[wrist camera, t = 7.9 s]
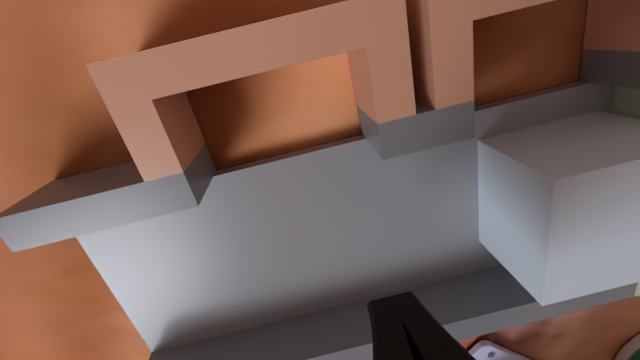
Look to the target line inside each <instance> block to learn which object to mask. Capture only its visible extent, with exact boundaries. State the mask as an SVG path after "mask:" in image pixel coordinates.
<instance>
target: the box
mask: <svg viewBox="0 0 640 360" xmlns="http://www.w3.org/2000/svg"><path fill="white" fill-rule="evenodd" d="M550 1H554V0H346V1H342V2H338V3H334V4H330V5H326V6H322V7H318V8H314V9H310V10H306V11H302V12H298V13H294V14H290V15H285V16H281V17H277V18H273V19H269V20H265V21H261V22H257V23H253V24H249V25H245V26H241V27H237V28H233V29H229V30H224V31H220V32H216V33H212V34H208V35H204V36H200V37H196V38H192V39H188V40H184V41H180V42H176V43H172V44H168V45H164V46H159V47H155V48H151V49H147V50H143V51H139V52H135V53H131V54H127V55H123V56H119V57H115V58H111V59H107V60H103V61H98V62H94V63H90V64H86V67H87V69H88V71H89V73H90V75H91V77H92V79H93V81H94V83H95V85H96V87H97V89H98V91H99V93H100V95H101V97H102V99H103V101H104V103H105V105H106V107H107V109H108V111H109V113H110V115H111V117H112V119H113V121H114V123H115V125H116V127H117V129H118V131H119V132H120V134H121V136H122V138H123V140H124V142H125V144H126V146H127V148H128V150H129V152H130V154H131V156H132V158H133V161H129V162H125V163H121V164H117V165H113V166H109V167H105V168H101V169H97V170H93V171H89V172H85V173H81V174H77V175H73V176H69V177H65V178H61V179H57V180H53V181H51V182H50V183H48V184H47V185H45V186H43V187H42V188H40V189H39V190H37V191H35V192H34V193H32V194H30V195H29V196H27V197H26V198H24V199H22V200H21V201H19V202H18V203H16V204H14V205H13V206H11V207H9V208H8V209H6V210H5V211H3V212H1V213H0V237H1V238H2V239H3V240H4V242H5V243H6V244H7V246H8V247H9V248H10V249H11V251H12V252H17V251H21V250H25V249H29V248H33V247H37V246H41V245H45V244H49V243H53V242H57V241H61V240H65V239H69V238H73V237H76V238H77V240H78V241H79V243H80V244H81V246H82V247H83V249H84V250H85V252H86V253H87V255H88V256H89V258H90V259H91V261H92V262H93V264H94V265H95V267H96V268H97V270H98V271H99V273H100V275H101V276H102V278H103V279H104V281H105V282H106V284H107V285H108V287H109V288H110V290H111V291H112V293H113V294H114V296H115V297H116V299H117V300H118V302H119V303H120V305H121V306H122V308H123V309H124V311H125V313H126V314H127V316H128V317H129V319H130V320H131V322H132V323H133V325H134V326H135V328H136V329H137V331H138V332H139V334H140V335H141V337H142V338H143V340H144V341H145V343H146V344H147V346H148V347H149V349H150V350H151V352H152V353H151V356H150V358H149V360H373V342H372V329H371V322H370V317H369V313H368V308H367V304H368V303H369V302H370V301H372V300H376V299H380V298H384V297H388V296H392V295H396V294H400V293H404V292H408V291H410V292H412V293H414V294H415V296H416V297H417V298H418V299H419V301H420V302H421V303H422V304H423V305H424V306H425V308H426V309H427V310H428V311H429V312H430V313H431V314H432V316H433V317H434V318H435V319H436V320H437V321H438V322H439V323H440V324H441V325H442V326H443V327H444V328H445V330H446V331H447V332H448V333H449V334H450V335H451V336H452V337H453V338H454V339H455V340H456V341H461V340H465V339H468V338H472V337H476V336H480V335H484V334H488V333H492V332H496V331H500V330H504V329H508V328H512V327H516V326H520V325H524V324H528V323H532V322H536V321H540V320H544V319H548V318H552V317H556V316H560V315H564V314H568V313H572V312H576V311H580V310H584V309H588V308H592V307H596V306H600V305H604V304H608V303H612V302H616V301H620V300H624V299H628V298H632V297H636V296H640V282H636V283H632V284H628V285H625V286H621V287H617V288H613V289H609V290H605V291H601V292H597V293H593V294H589V295H585V296H581V297H577V298H573V299H569V300H565V301H561V302H557V303H553V304H549V305H545V306H541V304H540V303H539V302H538V301H537V300H536V299H535V298H534V297H533V296H532V295H531V294H530V293H529V292H528V291H527V290H526V289H525V288H524V287H523V286H522V285H521V284H520V283H519V282H518V281H517V280H516V279H515V278H514V277H513V275H512V274H511V273H510V272H509V271H508V270H507V269H506V268H505V267H504V266H503V265H502V264H501V263H500V262H499V261H498V260H497V259H496V258H495V257H494V256H493V255H492V254H491V253H490V252H489V251H488V250H487V249H486V248H485V246H484V245H483V244H482V243H481V242H480V241H479V206H478V142H477V140H480V139H484V138H489V137H493V136H497V135H501V134H505V133H509V132H513V131H517V130H521V129H525V128H529V127H533V126H537V125H541V124H545V123H549V122H553V121H557V120H561V119H565V118H569V117H573V116H577V115H581V114H585V113H589V112H593V111H597V110H600V111H604V112H608V113H613V114H617V115H622V116H626V117H630V118H635V119H639V120H640V0H588V7H587V16H586V24H585V33H584V42H583V50H582V59H581V68H580V76H579V81H576V82H572V83H568V84H564V85H560V86H556V87H551V88H547V89H543V90H539V91H535V92H531V93H527V94H523V95H519V96H515V97H511V98H507V99H503V100H499V101H495V102H491V103H487V104H483V105H479V106H475V107H474V56H473V20H477V19H481V18H485V17H489V16H493V15H497V14H501V13H505V12H509V11H513V10H517V9H522V8H526V7H530V6H534V5H538V4H542V3H546V2H550ZM347 51H348V57H349V63H350V69H351V74H352V80H353V86H354V92H355V98H356V103H357V109H358V115H359V121H360V126H361V132H362V135H358V136H354V137H350V138H346V139H342V140H338V141H334V142H330V143H326V144H322V145H318V146H314V147H310V148H305V149H301V150H297V151H293V152H289V153H285V154H281V155H277V156H273V157H269V158H265V159H261V160H257V161H253V162H249V163H245V164H241V165H237V166H233V167H229V168H225V169H221V170H217V171H216V168H215V166H214V163H213V161H212V158H211V155H210V153H209V150H208V148H207V145H206V143H205V140H204V138H203V135H202V133H201V130H200V127H199V125H198V122H197V120H196V117H195V115H194V112H193V110H192V107H191V104H190V102H189V99H188V97H187V94H186V92H185V91H189V90H193V89H197V88H201V87H205V86H209V85H214V84H218V83H222V82H226V81H230V80H234V79H238V78H242V77H246V76H250V75H254V74H258V73H262V72H266V71H270V70H274V69H278V68H282V67H286V66H291V65H295V64H299V63H303V62H307V61H311V60H315V59H319V58H323V57H327V56H331V55H335V54H339V53H343V52H347Z"/></svg>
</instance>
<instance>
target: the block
mask: <svg viewBox="0 0 640 360" xmlns="http://www.w3.org/2000/svg"><path fill="white" fill-rule="evenodd" d="M477 142H478V206H479V241H480V242H481V243H482V244H483V245H484V246H485V248H486V249H487V250H488V251H489V252H490V253H491V254H492V255H493V256H494V257H495V258H496V259H497V260H498V261H499V262H500V263H501V264H502V265H503V266H504V267H505V268H506V269H507V270H508V271H509V272H510V273H511V274H512V275H513V277H514V278H515V279H516V280H517V281H518V282H519V283H520V284H521V285H522V286H523V287H524V288H525V289H526V290H527V291H528V292H529V293H530V294H531V295H532V296H533V297H534V298H535V299H536V300H537V301H538V302H539V303H540V304H541V306H545V305H549V304H553V303H557V302H561V301H565V300H569V299H573V298H577V297H581V296H585V295H589V294H593V293H597V292H601V291H605V290H609V289H613V288H617V287H621V286H625V285H628V284H632V283H636V282H640V120H639V119H635V118H630V117H626V116H622V115H617V114H613V113H608V112H604V111H600V110H597V111H593V112H589V113H585V114H581V115H577V116H573V117H569V118H565V119H561V120H557V121H553V122H549V123H545V124H541V125H537V126H533V127H529V128H525V129H521V130H517V131H513V132H509V133H505V134H501V135H497V136H493V137H489V138H484V139H480V140H477Z"/></svg>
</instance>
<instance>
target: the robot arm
mask: <svg viewBox="0 0 640 360" xmlns="http://www.w3.org/2000/svg"><path fill="white" fill-rule="evenodd" d="M367 308H368V313H369V317H370V322H371V329H372V342H373V360H530V359H528V358H526V357H524V356H521V355H519V354H517V353H515V352H512V351H510V350H508V349H506V348H503V347H501V346H499V345H497V344H494V343H492V342H490V341H487V340H482V341H479V342H478V343H477V344H475V345H474V346H473V347H472V348H471V349H470V350H469V351H467V350H466V349H465V348H464V347H463V346H461V345H460V344H459V343H458V342H457V341H456V340H455V339H454V338H453V337H452V336H451V335H450V334H449V333H448V332H447V331H446V330H445V328H444V327H443V326H442V325H441V324H440V323H439V322H438V321H437V320H436V319H435V318H434V317H433V316H432V314H431V313H430V312H429V311H428V310H427V309H426V308H425V306H424V305H423V304H422V303H421V302H420V301H419V299H418V298H417V297H416V296H415V294H414V293H412V292H410V291H408V292H404V293H400V294H396V295H392V296H388V297H384V298H380V299H376V300H372V301H370V302H369V303H368V304H367Z"/></svg>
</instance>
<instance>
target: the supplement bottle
mask: <svg viewBox="0 0 640 360" xmlns="http://www.w3.org/2000/svg"><path fill="white" fill-rule="evenodd" d="M615 360H640V334H638V335H637V336H635V337H634V338H632V339H631V340H630V341H629V342H627V343H626V344H625V345H624V346H623V347H622V348H621V349H620V351H619V352H618V354H617V355H616V357H615Z"/></svg>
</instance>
